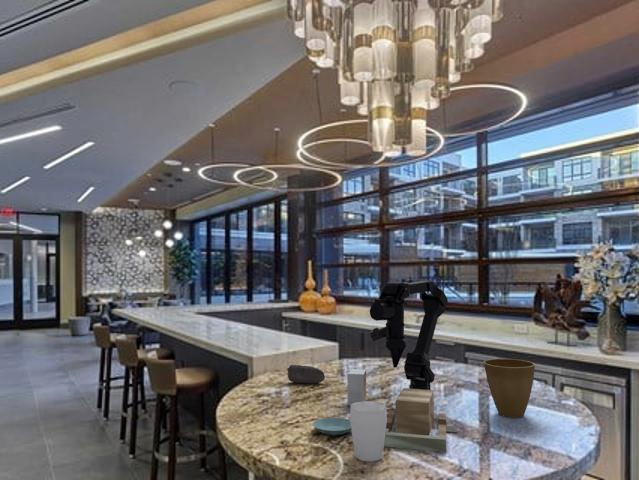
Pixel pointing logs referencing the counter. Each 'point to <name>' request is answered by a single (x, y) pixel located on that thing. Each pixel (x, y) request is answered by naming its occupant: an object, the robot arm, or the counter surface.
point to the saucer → (333, 426)
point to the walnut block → (414, 411)
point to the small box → (356, 386)
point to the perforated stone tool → (305, 374)
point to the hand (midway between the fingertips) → (395, 367)
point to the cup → (368, 429)
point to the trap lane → (418, 436)
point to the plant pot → (510, 385)
